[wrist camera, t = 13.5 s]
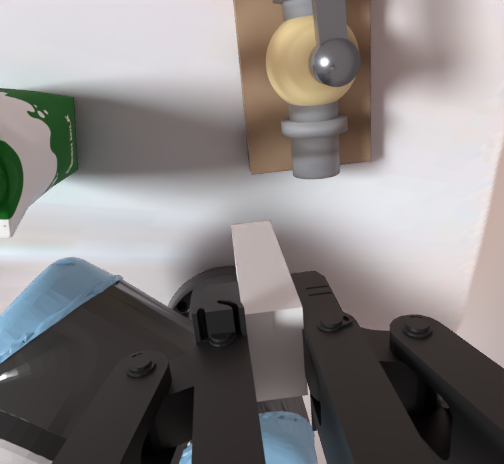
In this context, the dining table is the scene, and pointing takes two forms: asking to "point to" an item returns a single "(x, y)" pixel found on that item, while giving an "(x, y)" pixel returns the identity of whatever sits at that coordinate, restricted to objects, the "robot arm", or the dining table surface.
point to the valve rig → (300, 91)
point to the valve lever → (332, 45)
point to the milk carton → (33, 150)
